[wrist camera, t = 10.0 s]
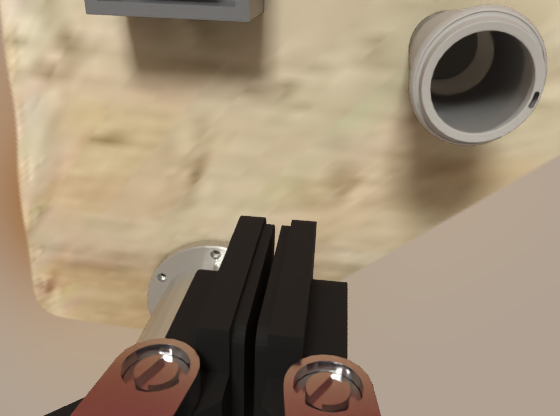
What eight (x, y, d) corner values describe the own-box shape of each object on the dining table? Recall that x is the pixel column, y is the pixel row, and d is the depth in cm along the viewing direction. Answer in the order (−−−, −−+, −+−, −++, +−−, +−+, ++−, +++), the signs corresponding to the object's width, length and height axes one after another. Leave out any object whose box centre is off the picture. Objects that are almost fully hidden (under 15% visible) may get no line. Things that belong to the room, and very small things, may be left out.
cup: (468, 108, 39) (514, 169, 28) (379, 82, 38) (391, 132, 28) (512, 7, 35) (584, 30, 25) (416, -23, 35) (446, -11, 25)
